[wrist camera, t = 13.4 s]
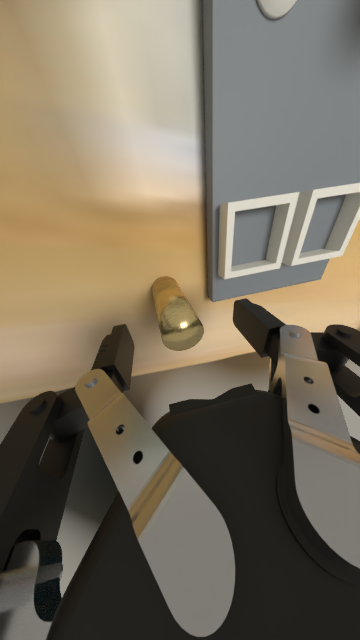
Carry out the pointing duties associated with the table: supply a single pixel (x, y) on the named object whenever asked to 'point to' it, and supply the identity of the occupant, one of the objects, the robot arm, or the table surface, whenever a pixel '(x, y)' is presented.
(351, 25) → the board
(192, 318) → the pin
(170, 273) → the table surface
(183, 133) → the table surface
